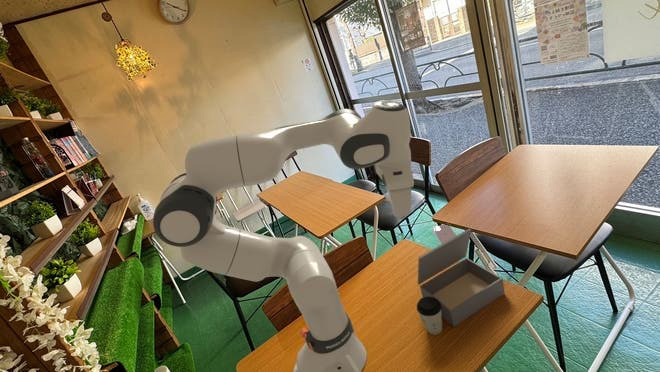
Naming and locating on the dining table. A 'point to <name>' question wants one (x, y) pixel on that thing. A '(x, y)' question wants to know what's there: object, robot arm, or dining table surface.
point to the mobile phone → (444, 233)
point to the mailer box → (463, 290)
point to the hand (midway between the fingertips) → (395, 205)
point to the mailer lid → (443, 256)
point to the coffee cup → (430, 314)
